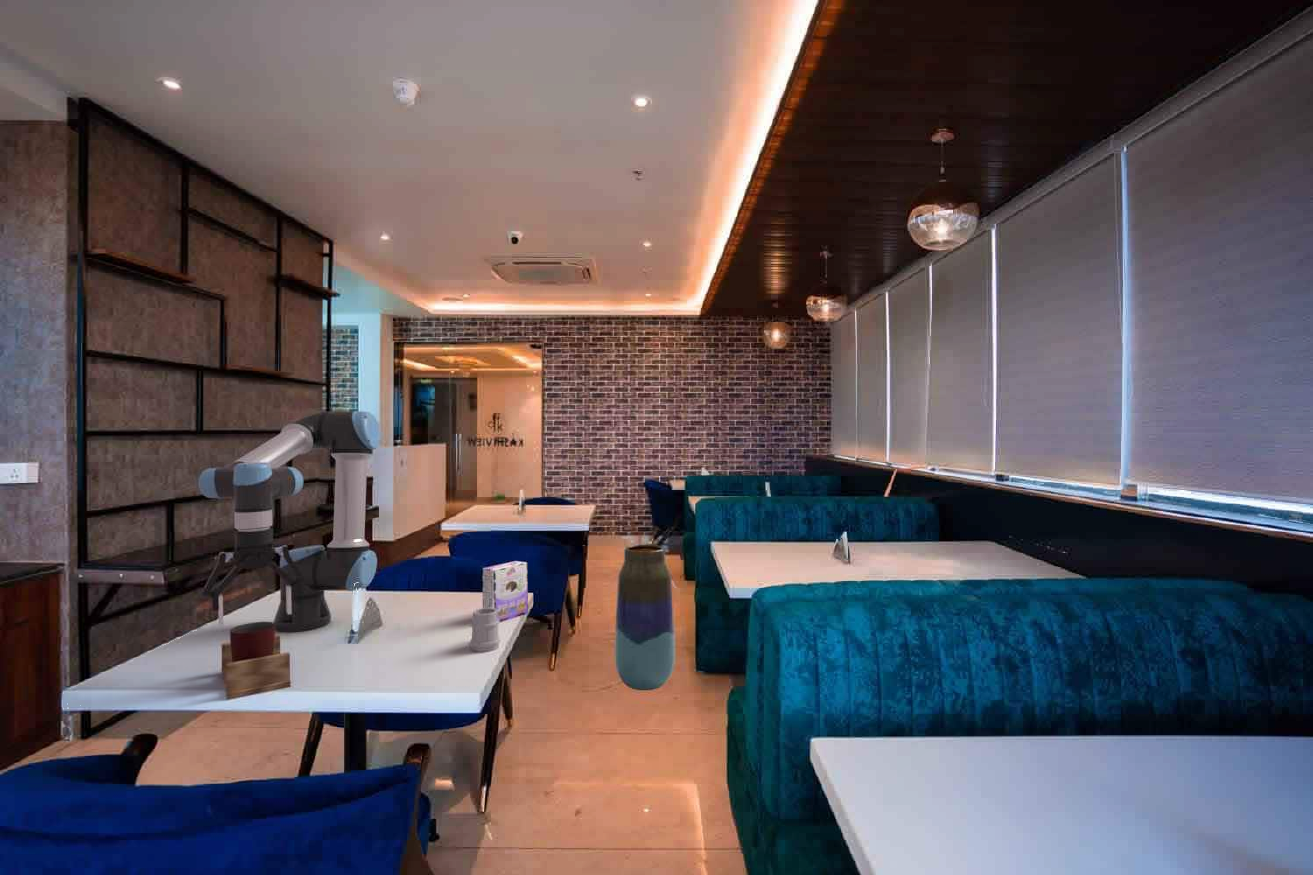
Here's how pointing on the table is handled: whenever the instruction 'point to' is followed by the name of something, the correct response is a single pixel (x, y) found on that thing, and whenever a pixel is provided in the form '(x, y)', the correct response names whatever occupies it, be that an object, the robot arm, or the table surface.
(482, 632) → the mug
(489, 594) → the candy box
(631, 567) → the vase
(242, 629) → the mug
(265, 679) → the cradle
